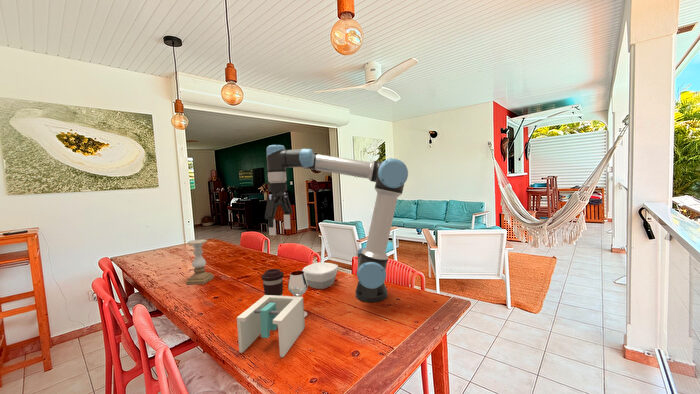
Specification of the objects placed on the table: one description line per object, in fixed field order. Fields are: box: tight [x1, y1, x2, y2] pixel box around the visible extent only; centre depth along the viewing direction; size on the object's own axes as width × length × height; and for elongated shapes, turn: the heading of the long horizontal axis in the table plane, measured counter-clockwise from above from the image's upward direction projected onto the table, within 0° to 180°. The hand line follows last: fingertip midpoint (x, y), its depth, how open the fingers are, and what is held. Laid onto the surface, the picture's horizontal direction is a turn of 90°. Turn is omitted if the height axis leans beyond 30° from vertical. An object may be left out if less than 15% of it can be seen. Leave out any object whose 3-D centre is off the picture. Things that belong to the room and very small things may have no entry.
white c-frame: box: [236, 294, 306, 358], centre depth 99 cm, size 16×18×12 cm
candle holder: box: [185, 238, 215, 286], centre depth 163 cm, size 11×11×24 cm
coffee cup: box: [261, 268, 284, 296], centre depth 129 cm, size 10×10×15 cm
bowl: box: [301, 262, 339, 290], centre depth 149 cm, size 18×18×9 cm
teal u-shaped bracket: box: [260, 302, 278, 339], centre depth 96 cm, size 2×6×9 cm, turn 166°
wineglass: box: [287, 270, 309, 318], centre depth 116 cm, size 8×8×18 cm
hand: (280, 231), depth 119 cm, fingers open, 13 cm apart
